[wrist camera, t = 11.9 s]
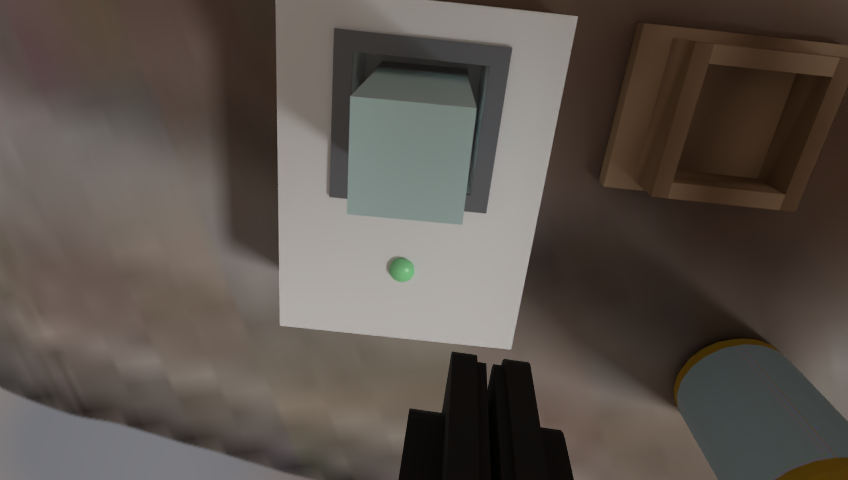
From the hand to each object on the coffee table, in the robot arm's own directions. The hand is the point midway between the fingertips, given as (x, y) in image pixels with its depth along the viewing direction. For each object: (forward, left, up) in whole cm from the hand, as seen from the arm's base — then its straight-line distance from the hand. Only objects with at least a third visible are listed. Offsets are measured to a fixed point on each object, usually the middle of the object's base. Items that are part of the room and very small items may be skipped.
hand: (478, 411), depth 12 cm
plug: (+2, -3, -18) cm, 18 cm away
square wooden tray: (-13, -4, -19) cm, 23 cm away
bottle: (-19, +12, -19) cm, 29 cm away
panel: (+2, 0, -19) cm, 19 cm away
